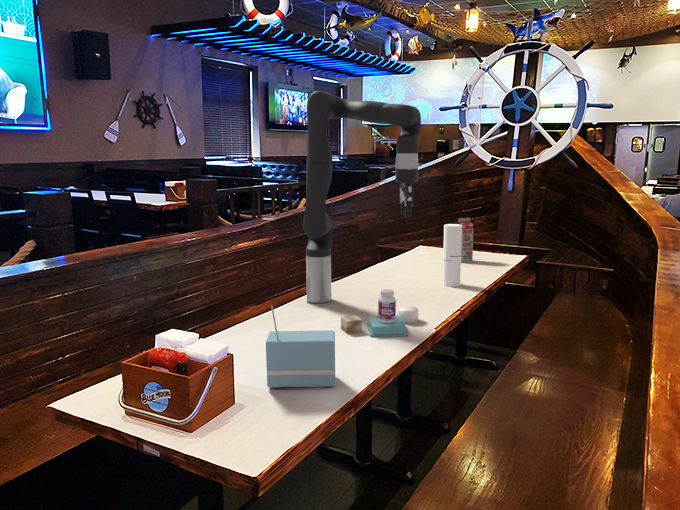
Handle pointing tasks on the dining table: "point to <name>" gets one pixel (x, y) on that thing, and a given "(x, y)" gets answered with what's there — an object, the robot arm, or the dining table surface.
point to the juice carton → (466, 239)
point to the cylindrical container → (452, 255)
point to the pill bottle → (387, 307)
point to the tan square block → (351, 324)
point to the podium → (386, 328)
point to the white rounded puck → (408, 314)
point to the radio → (300, 358)
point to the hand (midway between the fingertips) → (406, 216)
